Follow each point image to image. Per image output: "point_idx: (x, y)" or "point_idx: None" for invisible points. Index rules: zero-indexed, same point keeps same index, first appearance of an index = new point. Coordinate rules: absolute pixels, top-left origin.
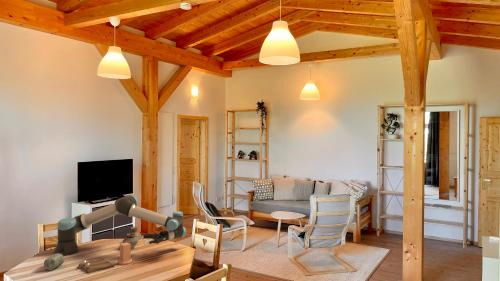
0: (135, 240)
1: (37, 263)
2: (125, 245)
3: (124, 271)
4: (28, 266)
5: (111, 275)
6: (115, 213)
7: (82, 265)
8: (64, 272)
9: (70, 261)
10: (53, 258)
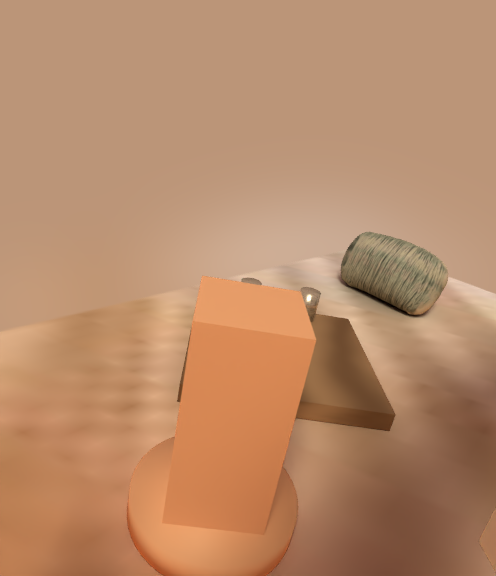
0: (492, 546)
1: (468, 299)
2: (200, 290)
3: (6, 393)
4: None
5: (44, 331)
6: None
7: None
8: (291, 289)
9: (454, 346)
10: (364, 237)
